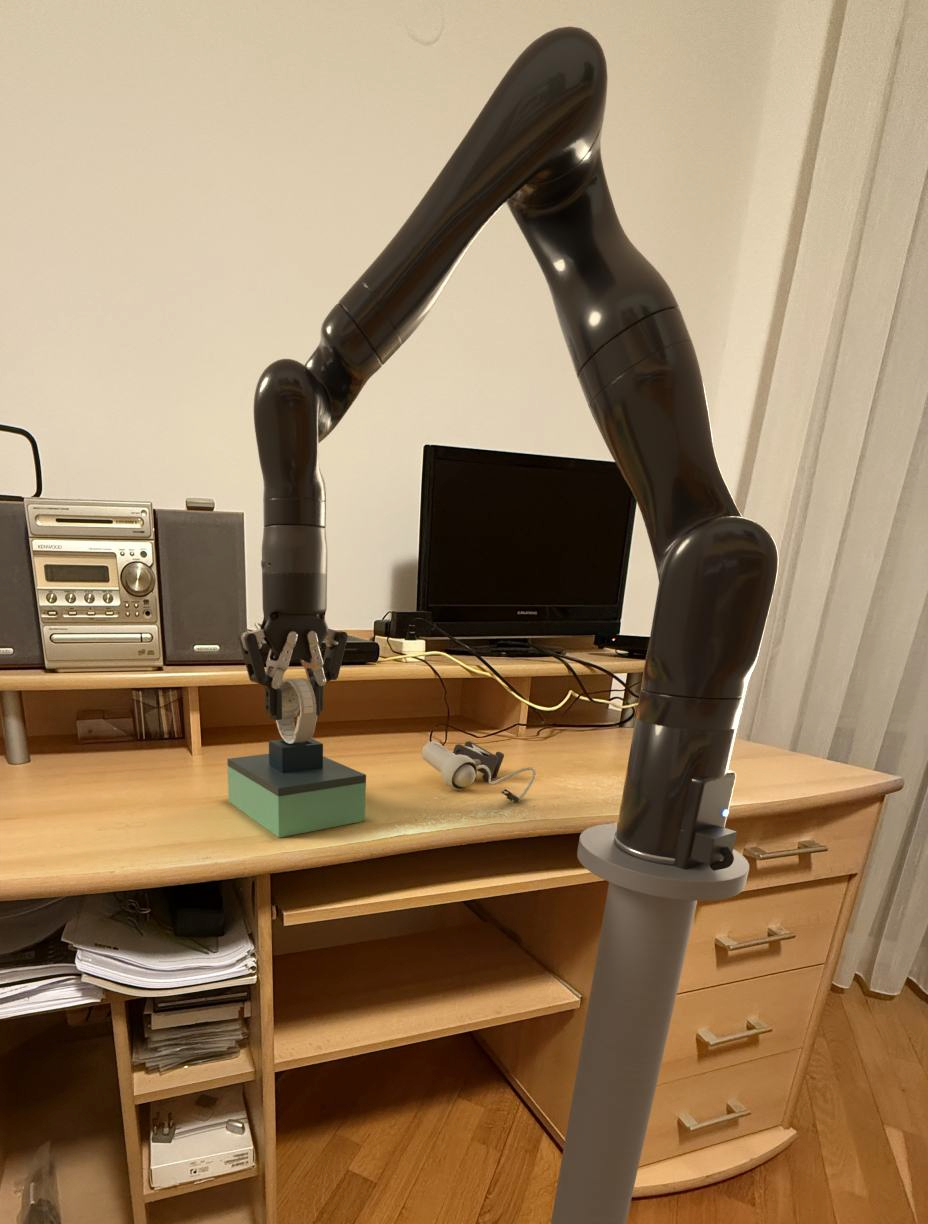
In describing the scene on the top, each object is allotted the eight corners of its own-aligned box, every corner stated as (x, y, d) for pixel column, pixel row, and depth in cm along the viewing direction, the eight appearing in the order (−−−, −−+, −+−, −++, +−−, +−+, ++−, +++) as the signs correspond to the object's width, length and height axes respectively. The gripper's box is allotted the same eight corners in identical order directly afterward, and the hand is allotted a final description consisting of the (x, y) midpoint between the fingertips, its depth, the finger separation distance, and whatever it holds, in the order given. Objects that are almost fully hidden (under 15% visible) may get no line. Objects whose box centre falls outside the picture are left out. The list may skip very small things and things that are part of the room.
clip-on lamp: (544, 817, 90) (466, 761, 104) (560, 777, 87) (478, 725, 101) (483, 822, 84) (408, 762, 98) (498, 780, 81) (419, 724, 95)
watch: (301, 756, 85) (302, 673, 81) (329, 771, 78) (330, 681, 74) (262, 761, 82) (261, 675, 79) (287, 776, 75) (286, 684, 72)
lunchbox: (364, 820, 79) (366, 774, 77) (278, 837, 73) (278, 788, 71) (306, 789, 91) (306, 748, 89) (228, 801, 85) (227, 758, 83)
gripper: (251, 567, 66) (254, 728, 72) (364, 571, 73) (359, 717, 79) (224, 569, 72) (229, 717, 78) (330, 573, 79) (328, 708, 85)
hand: (294, 716), depth 78 cm, fingers closed on watch, 4 cm apart
